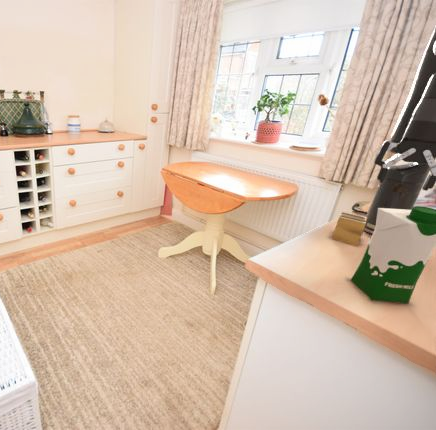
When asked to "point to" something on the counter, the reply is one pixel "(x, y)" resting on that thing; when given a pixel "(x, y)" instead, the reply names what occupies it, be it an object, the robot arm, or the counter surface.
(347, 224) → the tan block
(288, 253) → the counter surface
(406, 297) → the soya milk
